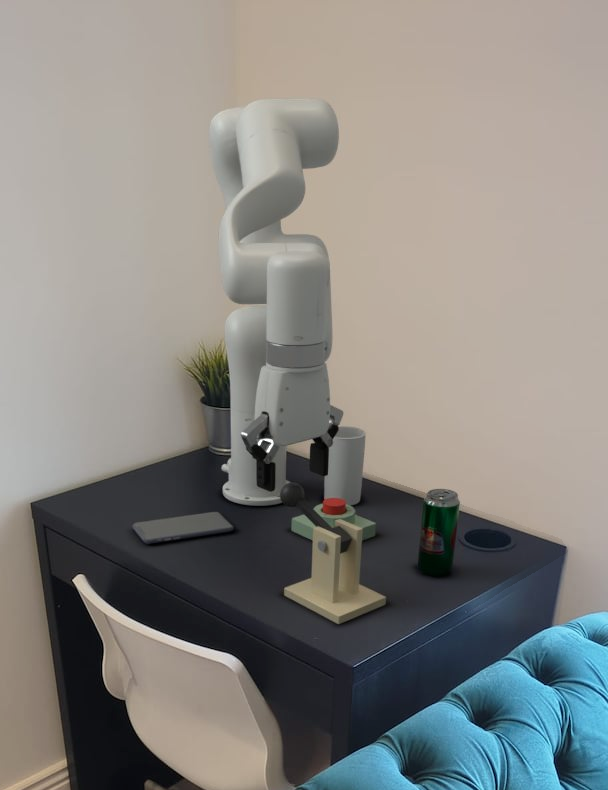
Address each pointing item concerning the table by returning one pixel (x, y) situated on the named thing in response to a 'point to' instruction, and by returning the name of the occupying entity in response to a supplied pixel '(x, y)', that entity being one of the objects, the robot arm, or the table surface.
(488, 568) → the table surface
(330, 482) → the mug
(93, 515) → the table surface
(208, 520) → the smartphone
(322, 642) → the table surface
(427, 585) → the table surface
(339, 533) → the ball knob handle
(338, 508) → the button
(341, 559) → the lever bracket
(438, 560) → the soda can
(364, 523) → the control block
